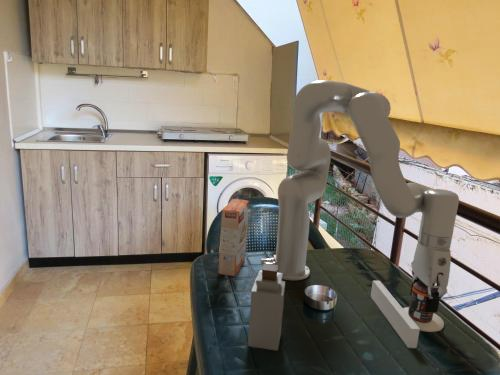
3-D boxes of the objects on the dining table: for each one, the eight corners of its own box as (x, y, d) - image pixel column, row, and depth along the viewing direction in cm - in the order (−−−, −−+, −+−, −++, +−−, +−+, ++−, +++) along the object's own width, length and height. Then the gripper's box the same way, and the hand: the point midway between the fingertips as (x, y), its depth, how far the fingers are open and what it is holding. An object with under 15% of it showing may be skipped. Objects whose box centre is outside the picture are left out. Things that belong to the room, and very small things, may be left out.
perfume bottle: (277, 350, 91) (284, 275, 87) (247, 345, 92) (252, 271, 88) (280, 333, 97) (286, 263, 93) (252, 329, 98) (257, 259, 94)
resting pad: (409, 331, 101) (410, 330, 101) (391, 308, 112) (391, 306, 112) (452, 332, 102) (452, 330, 102) (430, 308, 113) (430, 307, 113)
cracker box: (236, 277, 125) (240, 211, 120) (217, 274, 126) (220, 209, 121) (246, 259, 138) (250, 199, 133) (228, 257, 139) (231, 197, 134)
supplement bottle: (420, 325, 103) (427, 284, 101) (402, 313, 109) (409, 274, 106) (437, 321, 106) (445, 281, 103) (419, 309, 111) (426, 271, 108)
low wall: (408, 348, 95) (411, 328, 94) (370, 296, 118) (372, 280, 117) (416, 348, 95) (419, 328, 94) (377, 296, 118) (379, 280, 117)
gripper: (469, 253, 94) (455, 322, 98) (431, 227, 111) (420, 288, 115) (438, 252, 93) (425, 322, 97) (404, 227, 110) (395, 287, 114)
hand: (423, 303), depth 106 cm, fingers open, 7 cm apart
